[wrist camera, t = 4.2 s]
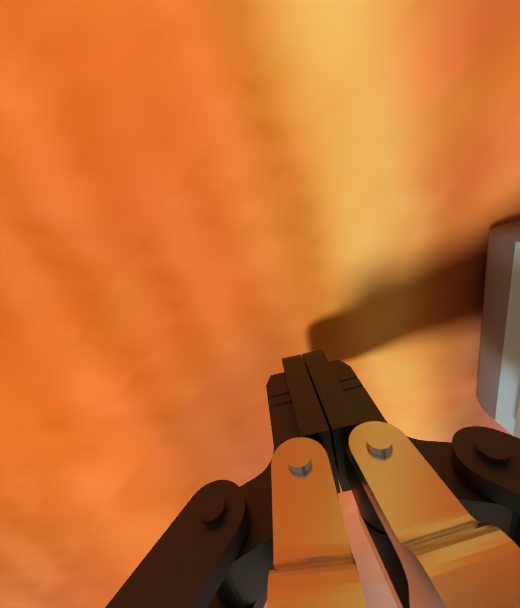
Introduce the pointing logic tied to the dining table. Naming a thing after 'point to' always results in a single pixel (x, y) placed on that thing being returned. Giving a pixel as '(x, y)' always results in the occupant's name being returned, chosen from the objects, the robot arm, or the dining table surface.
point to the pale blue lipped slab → (501, 329)
